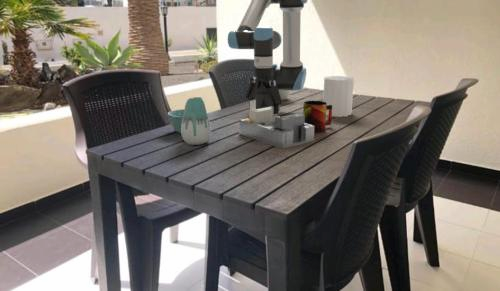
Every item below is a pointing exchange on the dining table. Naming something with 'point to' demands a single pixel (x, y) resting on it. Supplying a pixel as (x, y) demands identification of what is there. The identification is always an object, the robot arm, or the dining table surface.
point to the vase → (195, 122)
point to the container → (339, 95)
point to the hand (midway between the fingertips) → (263, 118)
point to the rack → (280, 131)
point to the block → (261, 116)
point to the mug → (317, 115)
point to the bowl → (176, 119)
